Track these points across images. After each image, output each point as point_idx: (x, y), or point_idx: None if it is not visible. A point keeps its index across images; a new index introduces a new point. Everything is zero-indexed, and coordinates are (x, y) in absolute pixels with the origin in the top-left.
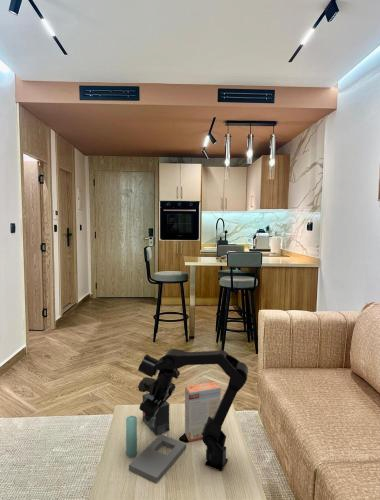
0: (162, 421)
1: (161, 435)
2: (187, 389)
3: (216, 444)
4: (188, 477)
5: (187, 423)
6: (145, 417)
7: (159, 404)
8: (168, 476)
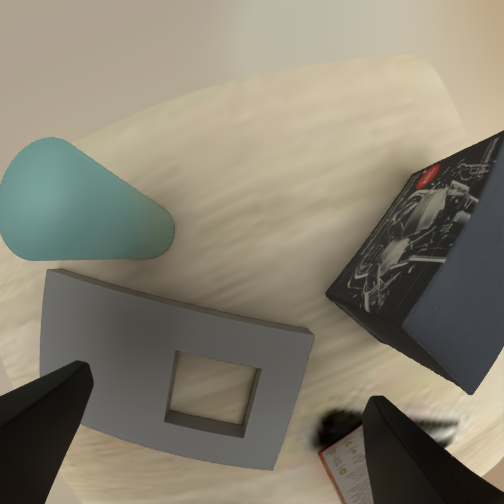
0: (380, 334)
1: (302, 346)
2: None
3: None
4: (125, 486)
5: (359, 486)
6: (37, 381)
7: (375, 444)
8: (95, 430)
